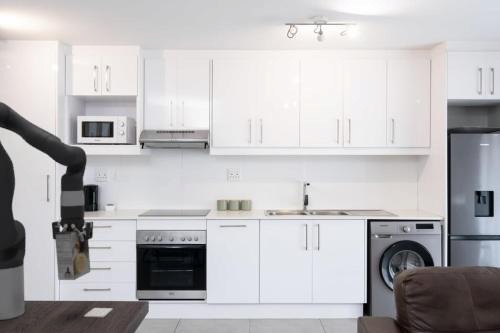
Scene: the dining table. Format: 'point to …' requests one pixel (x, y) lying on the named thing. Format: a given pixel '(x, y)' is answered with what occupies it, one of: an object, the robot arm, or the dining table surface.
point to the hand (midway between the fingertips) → (72, 251)
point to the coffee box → (71, 255)
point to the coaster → (98, 312)
